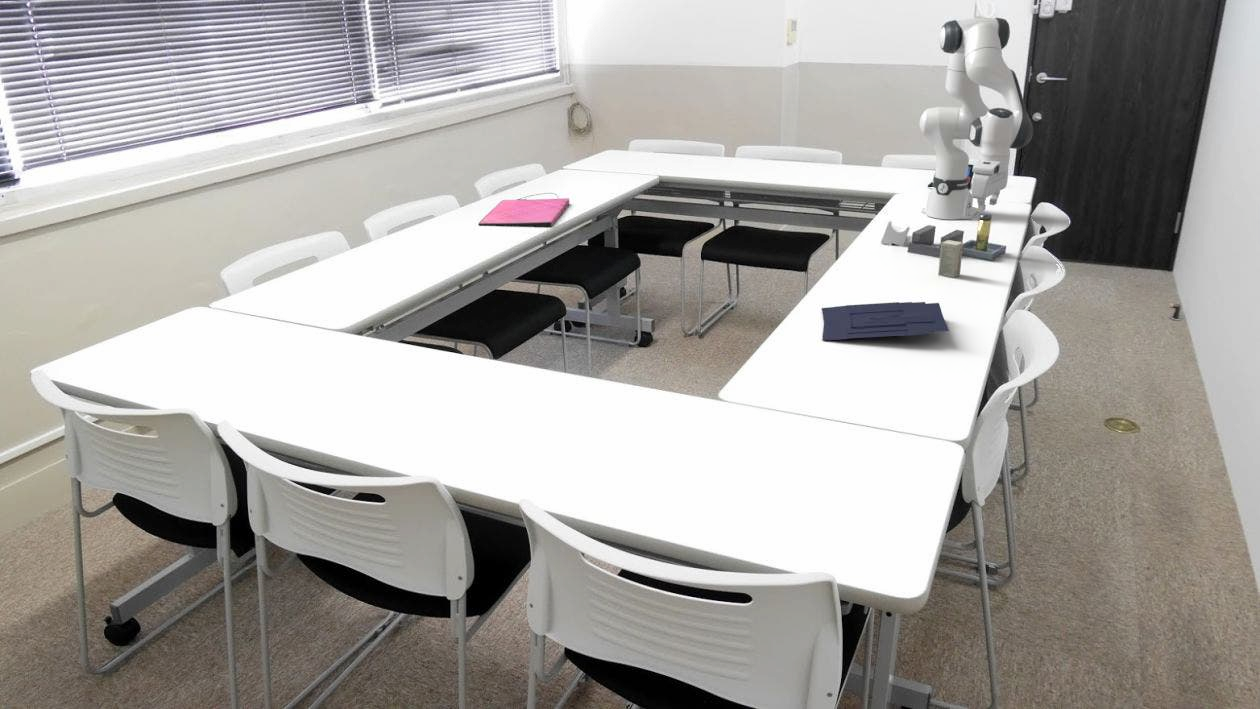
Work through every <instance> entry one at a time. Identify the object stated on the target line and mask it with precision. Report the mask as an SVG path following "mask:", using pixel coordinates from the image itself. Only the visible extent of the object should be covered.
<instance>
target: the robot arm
mask: <svg viewBox="0 0 1260 709" xmlns="http://www.w3.org/2000/svg"><path fill="white" fill-rule="evenodd" d="M1010 29H1011V28H1010V24H1009V22H1008V21H1007V19H1004V18H1000V17H995V18H992V17H975V18H966V19H960V20H956V19H953V20H950V21H946V22H945V23H944V24H943V25H942V27H941V30H940V33H939V38H938V40H939V45H940V49H941V50H942V52H943V53H946V54H949V56H948V61H947V70H946V78H945V84H944V85H945V86H944V88H945V90H946V93H947V94H948V96H950V97H952V98H954V99H956V100H957V101H959V103H960V104H961V106H935V107H930V108H929V107H928V108H926V109H925V110H924V111H923V112H922V114H921V116H920V118H919V121H918V122H919V125H918V126H919V129H920V132H921V133H922V135H924V136H925V138H927V139H928V140H929V141H930V143H931V144H932V146H933V149H934V152H935V169H934V170H935V171H934V175H935V176H934V175H933V178H932V182H933V185H932V186H933V188H929V190H928V192H927V198H926V200H925V201H926V202H925V206H924V207H923V208H921V211H920V212H921V213H923V214H925V215H926V216H927V217H930V218H933V219H939V220H951V221H952V220H954V221H955V220H956V221H957V220H971V219H973V217H974V216H975V215H976V214H977V213H978V212H984V211H985V210H986V200H987V198H988V197H990V199H989V205H991V206H995V205H997V203H998V198H999V196H1000V193H1001V191H1002V190H1004V189H1006V187H1007V186H1008V185H1007V184H1008V178H1009V165H1010V159H1011V158H1010V157H1011V149H1016V150H1020V149H1022V148H1023V147H1025V146H1027V145H1028V144H1029V143H1030V142H1031V140H1032V139H1033V135H1034V127H1033V122H1032V120H1031V118H1030V117H1029V114H1028V111H1027V108H1026V105H1025V101H1024V98H1023V94H1022V91H1021V87H1020V83H1019V80H1018V78H1017V74H1016V73H1015V71H1014V70H1013V69H1012V68H1009V66H1008V65H1007V63H1006V62H1005V60H1004V58H1003V53H1002V50H1004V48H1006V46H1007V45H1008V43H1009V40H1010V36H1011V30H1010ZM980 86H981V87H985V88H988V89H991V90H993V91H996V92H997V93H999V94H1000V95H1002V96H1003V98H1004V100H1005V103H1006V107H1007V108H1005V107H1002V108H1001V107H996V108H995V107H994V108H989V107H988V106H987V105H986V104H985V102H984V101H983V99H982V96H981V92H980V90H981V89H980ZM954 140H969V142H970V143H971V144H972V145H973V146H975V147H977V148H980V151H979V155H978V159H977V161H976V162H975V163H974V164H973V165H974V166H973V170H972V172H973V173H974V174H973V178H972V182H971V191H970V190H969V189H967V187H968V182H970V177H967V171H968V164H969V165H970V163H969V162H970V157H969V155H968V153H967V152H966V151H964V150H963V149H961V148H959V147H958V146H956V145H955V144H954V142H953V141H954ZM974 199H976V200H977V205H978V206H977V207H975V206H974V207H973V202H974Z"/></svg>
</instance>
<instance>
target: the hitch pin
mask: <svg viewBox="0 0 1260 709" xmlns="http://www.w3.org/2000/svg"><path fill="white" fill-rule="evenodd" d="M992 216H993V214H990V213H986V212H985V213H983V212H982V213H980V214H979V219H978V224H977V232H976V239H975V240H976V246H975V250H978V251H984V252H987V247H988V243H989V238H990V233H991V232H990V231H991V225H992V218H993V217H992Z"/></svg>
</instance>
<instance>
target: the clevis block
mask: <svg viewBox="0 0 1260 709" xmlns="http://www.w3.org/2000/svg"><path fill="white" fill-rule="evenodd" d="M936 228H937V226H936V225H930V224H928V225H926V226H924V227H921V228H919V229H917V230H915V231H913V232H912V235H911V242H908V245H907V253H910V254H917V255H921V256H926V257H931V258H937V259H940V252H941V243H942V242H944V241H947V240H952V241H958V242H963V240H964V234H965V231H964V230H961V229H954V230H953V231H951V232H949V233H947V234H945V235H943V236H942V237H940V244H939V246H934V245H935V244H934V242H935V236H936ZM963 243H964V242H963Z"/></svg>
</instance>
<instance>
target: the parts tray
mask: <svg viewBox="0 0 1260 709" xmlns="http://www.w3.org/2000/svg"><path fill="white" fill-rule="evenodd" d="M975 246H976V239H975V240H974V239H970V240H968V241H966V242H963V251H962V257H964V258H965V257H966V258H970V259H977V260H981V261H987V262H991V261H992V262H993V261H995V260H997V259H998V258H1000V257H1002V256H1003V255H1005V254H1006V252H1007V245H1004V244H997V243H993V242H988V247H987V252H984V251H978V250H975ZM1001 255H1002V256H1001ZM996 258H997V259H996Z"/></svg>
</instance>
